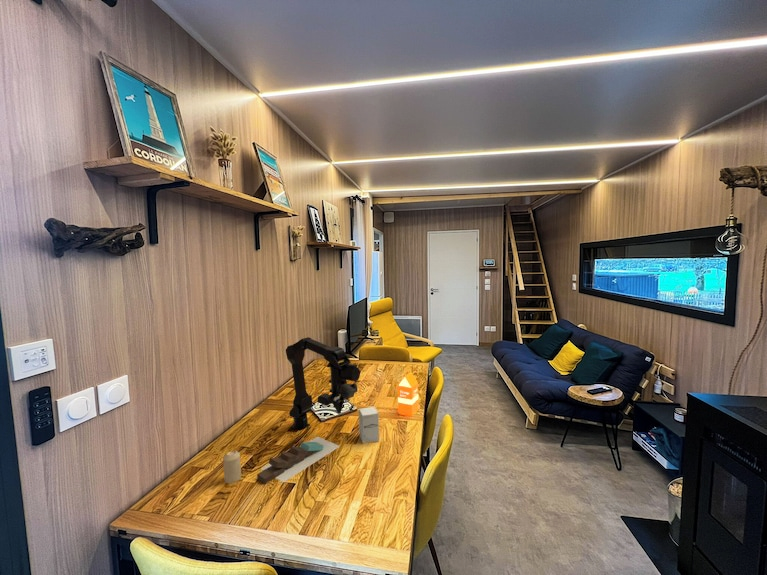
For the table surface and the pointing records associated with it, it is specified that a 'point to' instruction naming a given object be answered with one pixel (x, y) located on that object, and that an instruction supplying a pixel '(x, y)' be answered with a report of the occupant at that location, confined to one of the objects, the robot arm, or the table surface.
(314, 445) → the domino
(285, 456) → the domino
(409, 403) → the orange juice
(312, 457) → the mat
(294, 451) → the domino
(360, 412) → the supplement box
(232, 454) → the candle
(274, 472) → the domino
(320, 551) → the table surface
